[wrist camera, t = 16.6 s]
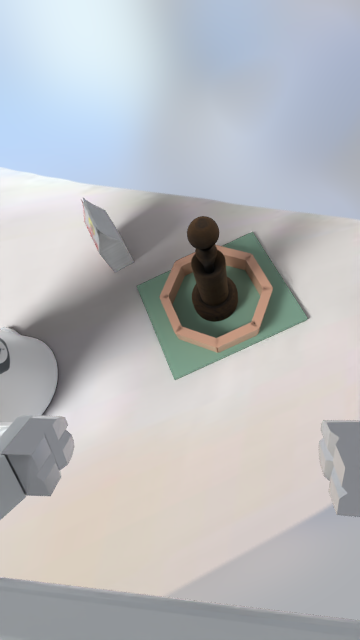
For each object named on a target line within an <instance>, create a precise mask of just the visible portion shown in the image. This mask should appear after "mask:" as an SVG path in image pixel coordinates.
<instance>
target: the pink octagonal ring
mask: <svg viewBox="0 0 360 640" xmlns="http://www.w3.org/2000/svg"><path fill="white" fill-rule="evenodd" d="M215 246H216V247H217V250H219V251H221V252H222V253H223V255H224V257H225V260H226V266H230V267H234V268H238V269H242V270H245V271H246V272H247V274H248V276H249V278H250V279H251V281H252V283H253V284H254V286H255V288H256V289H257V291H258V293H259V295H260V299H259V302H258V305H257V307H256V310H255V313H254V316H253V319H252V322H251V323H248V324H246V325H244V326H242V327H240V328H238V329H235V330H233V331H231V332H229V333H227V334H224V335H222V336H220V337H218V338H214V337H211V336H208V335H206V334H203V333H200V332H197V331H194V330H191V329H188V328H185V327H183V326H182V324H181V322H180V320H179V318H178V315H177V313H176V311H175V309H174V306H173V302H174V300H175V297H176V295H177V293H178V291H179V288H180V286H181V284H182V281H183V279H184V277H185V276H186V275H188V274H190V273H192V272H193V271H192V268H191V260H192V257H193V255H194V254H195V252H194V253H192V254H190V255H188V256H186V257H183V258H181V259H179V260H177V261H176V262H175V263H174V265H173V267H172V270H171V272H170V274H169V276H168V279H167V281H166V283H165V285H164V288H163V290H162V292H161V294H160V300H161V302H162V304H163V307H164V309H165V311H166V314H167V316H168V318H169V321H170V323H171V325H172V328H173V330H174V332H175V334H176V335H177V337H178V338H179V339H180V340H183V341H185V342H188V343H191V344H194V345H197V346H200V347H202V348H205V349H208V350H211V351H214V352H217V353H218V352H219V353H220V352H222V351H224V350H226V349H228V348H231V347H233V346H235V345H237V344H239V343H242V342H244V341H246V340H248V339H250V338H252V337H255V336H257V334H258V333H259V330H260V327H261V324H262V321H263V318H264V315H265V313H266V310H267V307H268V304H269V301H270V298H271V294H272V290H273V287H272V285H271V284H270V282H269V281H268V279H267V277H266V276H265V274H264V272H263V271H262V269H261V268H260V266H259V264H258V263H257V261H256V259H255V258H254V256H253V255H251V253H247V252H243V251H238V250H234V249H230V248H226V247H222V246H218V245H215Z"/></svg>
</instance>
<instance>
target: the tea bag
mask: <svg viewBox="0 0 360 640" xmlns="http://www.w3.org/2000/svg"><path fill="white" fill-rule="evenodd" d="M81 200H82V199H81ZM83 200H84V202H83V201H82V203H83V209H84V221H85V224H86V226H87V228H88V230H89V232H90V235H91V237H92V239H93V241H94V243H95V245H96V247H97V249H98V252H99V254H100V255H101V256H102V257H103V259H104V260H105V261H106V262H107V263H108V265H109V266H110V267H111V268H112V270H113V271H114V272H117V271H119V270H121V269H122V268H124V267H126V266H128V265H130V264H131V263H133V262H134V260H133V258H132V256H131V255H130V253H129V251H128V249H127V247H126V245H125V243H124V241H123V239H122V237H121V235H120V233H119V232H118V230H117V229H116V227H115V225H114V224H113V222H112V221H111V219H110V217H109V216H108V214H107V212H106V211H105V210H103V209H101V208H99V207H97V206H95V205H93V204H91V203H90V202H88V201H87V200H85V199H84V198H83Z"/></svg>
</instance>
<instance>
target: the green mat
mask: <svg viewBox="0 0 360 640" xmlns="http://www.w3.org/2000/svg"><path fill="white" fill-rule="evenodd" d="M222 247H226V248H230V249H234V250H238V251H243V252H247V253H251V255H253V256H254V258H255V259H256V261H257V263H258V264H259V266H260V268H261V269H262V271H263V272H264V274H265V276H266V277H267V279H268V281H269V282H270V284H271V285H272V287H273V290H272V294H271V298H270V301H269V304H268V307H267V310H266V313H265V315H264V318H263V321H262V324H261V327H260V330H259V333H258V334H257V336H255V337H252V338H250V339H248V340H246V341H244V342H242V343H239V344H237V345H235V346H233V347H231V348H228V349H226V350H224V351H222V352H220V353H219V352H218V353H217V352H214V351H211V350H208V349H205V348H202V347H200V346H197V345H194V344H191V343H188V342H185V341H183V340H180V339H179V338H178V337H177V335H176V334H175V332H174V330H173V328H172V325H171V323H170V321H169V318H168V316H167V314H166V311H165V309H164V307H163V304H162V302H161V300H160V294H161V292H162V290H163V288H164V285H165V283H166V281H167V279H168V276H169V274H170V272H171V270H170V271H168V272H166V273H164V274H161V275H159V276H157V277H155V278H153V279H151V280H149V281H146V282H144V283H142V284H140V285H138V286H137V288H138V291H139V293H140V295H141V298H142V300H143V303H144V305H145V308H146V310H147V313H148V315H149V318H150V320H151V323H152V325H153V328H154V330H155V333H156V335H157V338H158V340H159V342H160V345H161V347H162V350H163V352H164V355H165V357H166V360H167V362H168V365H169V367H170V370H171V372H172V375H173V377H174V379H175V380H176V379H179V378H181V377H183V376H185V375H187V374H190V373H192V372H194V371H196V370H198V369H201V368H203V367H205V366H207V365H209V364H212V363H214V362H216V361H218V360H220V359H222V358H225V357H227V356H229V355H231V354H233V353H236V352H238V351H240V350H242V349H244V348H247V347H249V346H251V345H253V344H255V343H258V342H260V341H262V340H264V339H266V338H269V337H271V336H273V335H275V334H277V333H280V332H282V331H284V330H286V329H288V328H290V327H293V326H295V325H297V324H299V323H301V322H304V321H306V320H307V319H308V318H307V316H306V315H305V313H304V312H303V310H302V309H301V307H300V305H299V304H298V302H297V301H296V299H295V298H294V296H293V294H292V293H291V291H290V290H289V288H288V287H287V285H286V284H285V282H284V280H283V279H282V277H281V276H280V274H279V273H278V271H277V269H276V268H275V266H274V265H273V263H272V262H271V260H270V258H269V257H268V255H267V254H266V252H265V251H264V249H263V247H262V246H261V244H260V243H259V241H258V240H257V238H256V237H255V235H254V233H253V232H251V233H249V234H247V235H245V236H243V237H240V238H238V239H236V240H234V241H232V242H230V243H228V244H225V245H223V246H222ZM226 273H227V277H229V278H230V279H231V280H232V281H233V282H234V283H235V285H236V288H237V291H238V304H237V307H236V309H235V311H234V312H233V314H232V315H231V316H229V317H228V318H226V319H224V320H222V321H217V322H212V321H207V320H205V319H203V318H202V317H200V316H199V315H198V313H197V312H196V310H195V308H194V305H193V302H192V291H193V288H194V286H195V285H196V280H195V277H194V274H193V272H192V273H190V274H188V275H186V276H185V277H184V279H183V281H182V284H181V286H180V288H179V291H178V293H177V295H176V297H175V300H174V302H173V306H174V309H175V311H176V313H177V315H178V318H179V320H180V322H181V324H182V326H183V327H185V328H188V329H191V330H194V331H197V332H200V333H203V334H206V335H208V336H211V337H214V338H218V337H220V336H222V335H224V334H227V333H229V332H231V331H233V330H235V329H238V328H240V327H242V326H244V325H246V324H248V323H251V322H252V319H253V316H254V313H255V310H256V307H257V305H258V302H259V299H260V295H259V293H258V291H257V289H256V288H255V286H254V284H253V283H252V281H251V279H250V278H249V276H248V274H247V272H246V271H245V270H242V269H238V268H234V267H230V266H226Z"/></svg>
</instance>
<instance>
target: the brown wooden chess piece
mask: <svg viewBox="0 0 360 640" xmlns="http://www.w3.org/2000/svg"><path fill="white" fill-rule="evenodd" d="M187 237H188V240H189V242H190V244H191V245H192V246H193V247H194V248H196V251H195V254H194V255H193V257H192V260H191V268H192V271H193V274H194V277H195V280H196V285H195V286H194V288H193V291H192V302H193V305H194V308H195V310H196V312H197V313H198V315H199V316H200V317H202V318H203V319H205V320H207V321H212V322H217V321H222V320H224V319H226V318H228V317H229V316H231V315H232V314H233V312H234V311H235V309H236V307H237V304H238V291H237V288H236V285H235V283H234V282H233V281H232V280H231V279H230V278H229V277H227V273H226V260H225V257H224V255H223V253H222V252H221V251H219V250H217V247H216V246H215V243H216V242H217V240H218V238H219V228H218V226H217V224H216V222H215V221H214V220H213V219H211V218H209V217H205V216H202V217H198V218H196V219H194V220H193V221H192V222H191V223H190V225H189V227H188V231H187Z"/></svg>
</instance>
